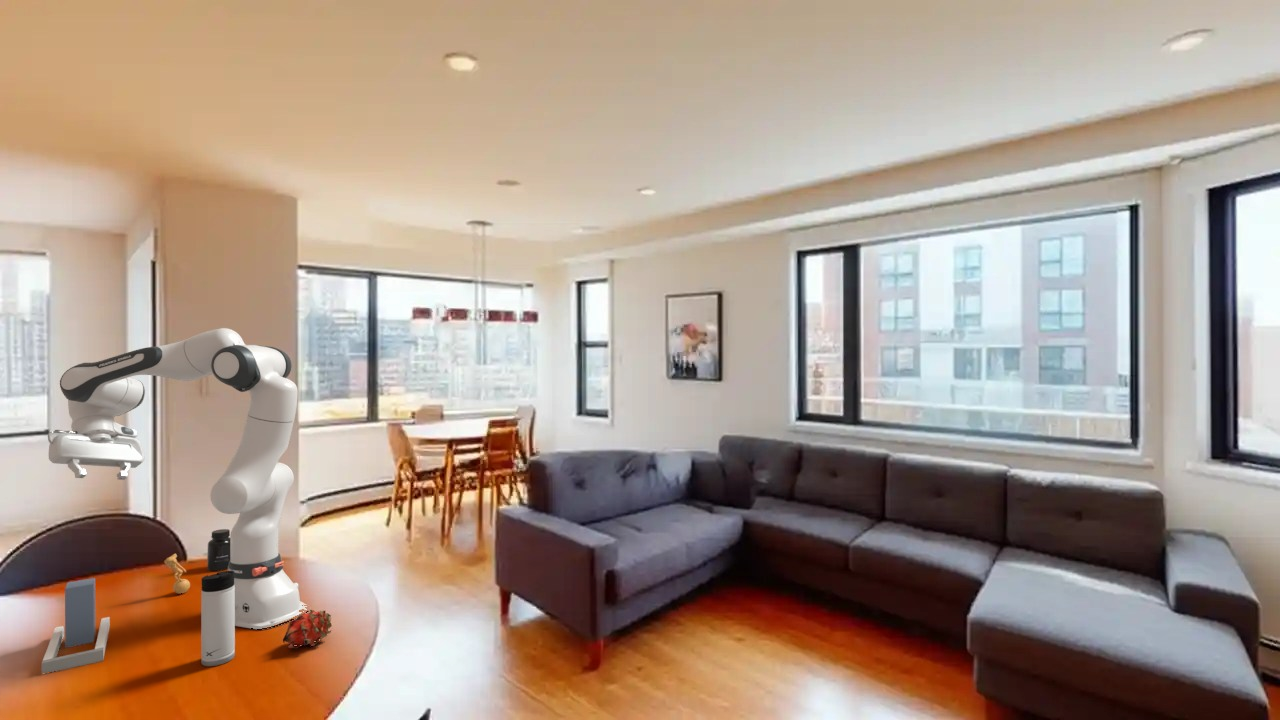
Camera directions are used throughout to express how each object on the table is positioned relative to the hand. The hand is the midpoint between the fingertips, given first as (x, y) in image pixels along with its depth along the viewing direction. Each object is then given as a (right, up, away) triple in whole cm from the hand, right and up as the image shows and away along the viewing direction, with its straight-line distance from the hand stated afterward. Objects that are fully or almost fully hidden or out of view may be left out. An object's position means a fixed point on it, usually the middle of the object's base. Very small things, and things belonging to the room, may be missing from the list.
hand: (102, 477), depth 160 cm
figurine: (+7, -37, +17) cm, 41 cm away
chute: (+8, -37, -15) cm, 41 cm away
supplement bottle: (+5, -37, +38) cm, 53 cm away
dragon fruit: (+60, -38, -13) cm, 72 cm away
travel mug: (+44, -38, -20) cm, 62 cm away
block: (+5, -37, -12) cm, 39 cm away
